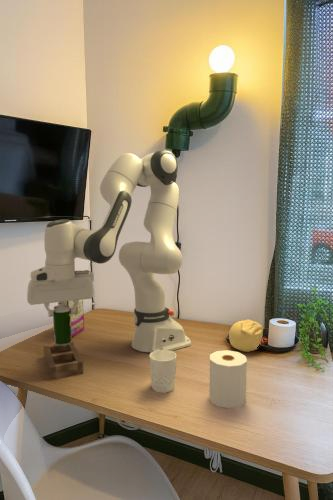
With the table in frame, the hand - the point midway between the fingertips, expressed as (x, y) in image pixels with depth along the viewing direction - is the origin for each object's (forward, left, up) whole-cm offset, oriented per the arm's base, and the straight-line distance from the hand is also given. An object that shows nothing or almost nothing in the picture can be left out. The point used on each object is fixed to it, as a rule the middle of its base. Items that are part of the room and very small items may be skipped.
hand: (61, 314), depth 122 cm
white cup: (-25, +23, -19) cm, 39 cm away
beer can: (0, 0, -10) cm, 10 cm away
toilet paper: (-39, +36, -19) cm, 56 cm away
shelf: (0, -4, -19) cm, 19 cm away
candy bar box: (-8, -32, -19) cm, 38 cm away
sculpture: (-64, +9, -19) cm, 67 cm away
